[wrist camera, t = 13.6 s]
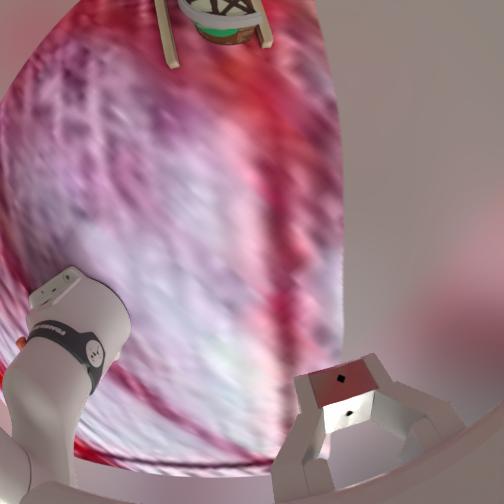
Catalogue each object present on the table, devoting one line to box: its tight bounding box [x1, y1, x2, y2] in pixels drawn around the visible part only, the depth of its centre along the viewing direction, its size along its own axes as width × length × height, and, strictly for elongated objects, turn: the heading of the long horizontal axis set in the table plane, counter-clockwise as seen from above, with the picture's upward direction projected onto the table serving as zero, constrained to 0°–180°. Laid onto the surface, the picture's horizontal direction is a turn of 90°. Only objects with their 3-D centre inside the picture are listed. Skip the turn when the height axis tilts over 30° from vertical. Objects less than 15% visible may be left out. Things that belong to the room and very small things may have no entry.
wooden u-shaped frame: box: [154, 0, 273, 69], centre depth 24 cm, size 13×16×3 cm
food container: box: [178, 0, 262, 45], centre depth 22 cm, size 12×6×10 cm, turn 32°
